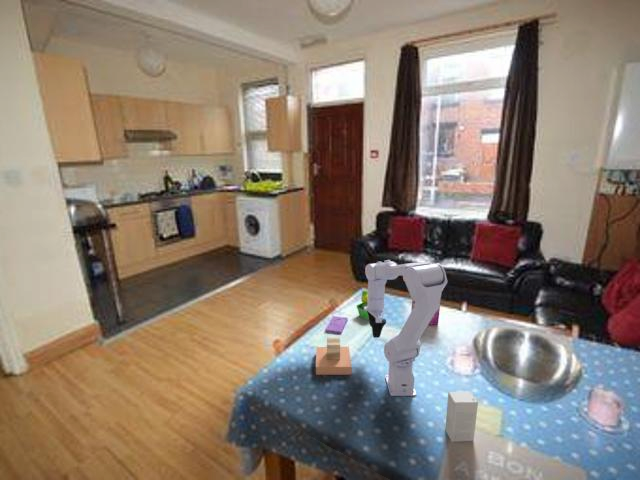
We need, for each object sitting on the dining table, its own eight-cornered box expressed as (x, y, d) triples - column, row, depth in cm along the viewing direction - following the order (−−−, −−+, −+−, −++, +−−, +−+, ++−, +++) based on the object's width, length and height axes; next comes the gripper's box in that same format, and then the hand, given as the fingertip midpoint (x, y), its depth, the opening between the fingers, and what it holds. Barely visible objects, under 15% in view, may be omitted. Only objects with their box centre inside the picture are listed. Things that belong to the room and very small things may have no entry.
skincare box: (466, 428, 90) (470, 390, 87) (473, 441, 86) (479, 402, 83) (444, 429, 90) (448, 391, 87) (450, 442, 85) (455, 403, 82)
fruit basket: (366, 322, 147) (367, 298, 144) (353, 314, 154) (354, 291, 151) (384, 314, 153) (385, 292, 150) (371, 307, 160) (372, 286, 157)
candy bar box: (412, 325, 144) (414, 289, 140) (410, 319, 149) (412, 285, 144) (438, 326, 143) (442, 290, 139) (436, 320, 148) (439, 286, 143)
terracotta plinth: (351, 374, 112) (351, 366, 111) (315, 374, 112) (315, 366, 111) (348, 353, 124) (348, 346, 123) (316, 353, 124) (316, 346, 123)
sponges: (347, 321, 149) (347, 317, 148) (341, 335, 137) (341, 331, 136) (332, 319, 151) (332, 315, 150) (324, 333, 139) (324, 329, 138)
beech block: (340, 360, 115) (340, 344, 113) (326, 360, 115) (326, 344, 113) (339, 352, 119) (339, 337, 118) (326, 352, 119) (326, 337, 118)
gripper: (362, 288, 123) (361, 321, 126) (367, 305, 109) (366, 342, 112) (381, 287, 123) (379, 321, 126) (388, 305, 108) (387, 342, 112)
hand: (374, 331), depth 119 cm, fingers open, 7 cm apart
